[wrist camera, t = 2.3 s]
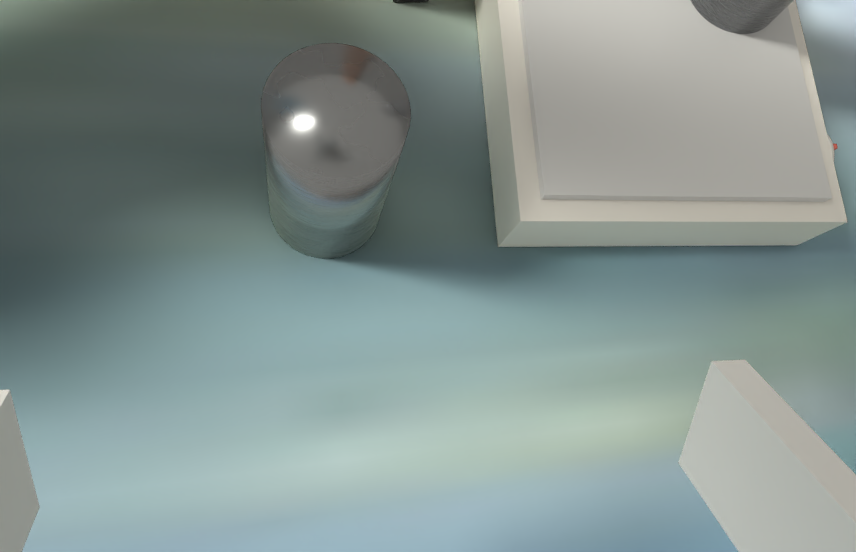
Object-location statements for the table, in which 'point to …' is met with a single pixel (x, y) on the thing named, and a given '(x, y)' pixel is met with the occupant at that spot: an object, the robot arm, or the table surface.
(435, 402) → the table surface
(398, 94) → the ball
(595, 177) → the scale
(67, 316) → the table surface
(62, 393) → the table surface
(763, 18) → the cylinder
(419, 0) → the ammunition clip
